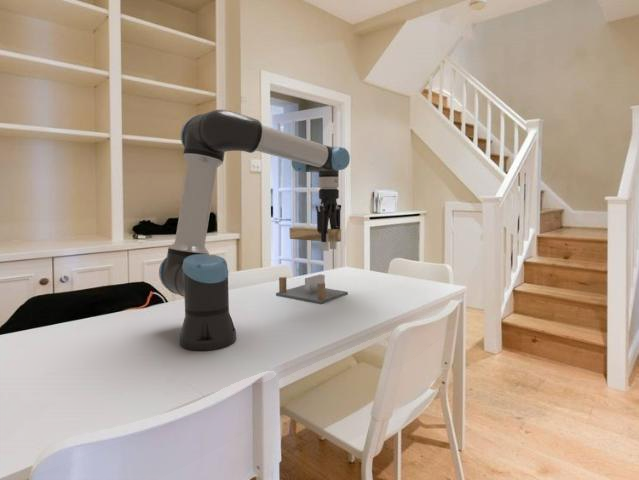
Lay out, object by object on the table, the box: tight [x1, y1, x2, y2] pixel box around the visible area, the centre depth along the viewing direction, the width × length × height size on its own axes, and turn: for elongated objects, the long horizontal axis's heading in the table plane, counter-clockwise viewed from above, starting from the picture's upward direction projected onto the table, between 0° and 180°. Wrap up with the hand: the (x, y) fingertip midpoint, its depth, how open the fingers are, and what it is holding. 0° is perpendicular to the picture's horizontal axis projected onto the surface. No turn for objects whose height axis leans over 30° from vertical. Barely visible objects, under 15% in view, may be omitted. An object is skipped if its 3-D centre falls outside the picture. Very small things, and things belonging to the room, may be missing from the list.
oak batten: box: [289, 226, 342, 243], centre depth 165 cm, size 4×22×4 cm, turn 53°
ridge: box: [304, 273, 326, 294], centre depth 168 cm, size 10×2×7 cm, turn 143°
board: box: [275, 276, 349, 305], centre depth 166 cm, size 18×22×7 cm
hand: (329, 249), depth 162 cm, fingers closed on oak batten, 4 cm apart
